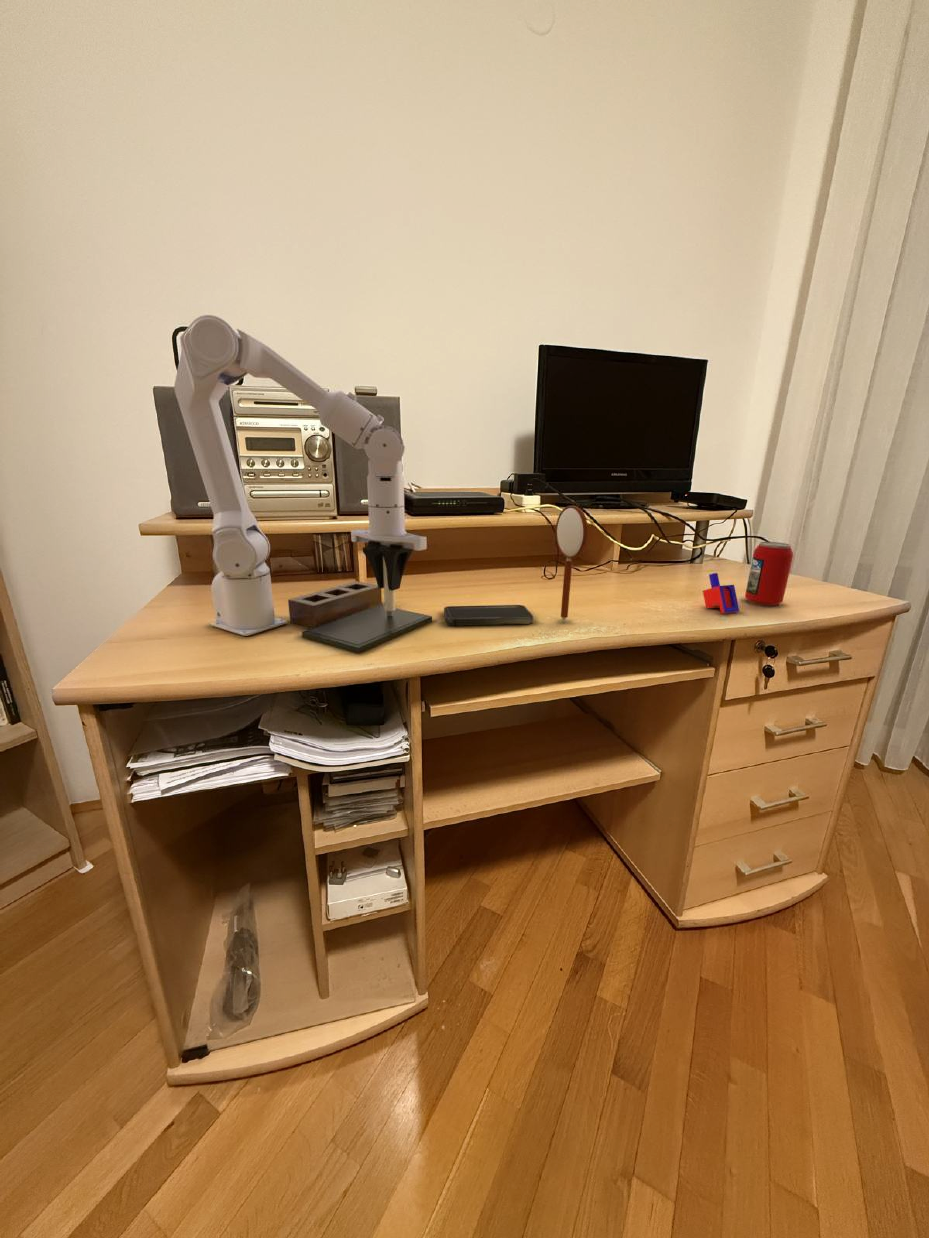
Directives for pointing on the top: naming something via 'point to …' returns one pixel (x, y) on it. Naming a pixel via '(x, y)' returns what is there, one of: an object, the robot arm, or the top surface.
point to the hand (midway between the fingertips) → (389, 588)
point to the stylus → (388, 594)
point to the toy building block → (721, 596)
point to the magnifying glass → (570, 545)
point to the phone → (487, 615)
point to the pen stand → (333, 603)
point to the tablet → (366, 628)
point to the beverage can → (769, 573)
